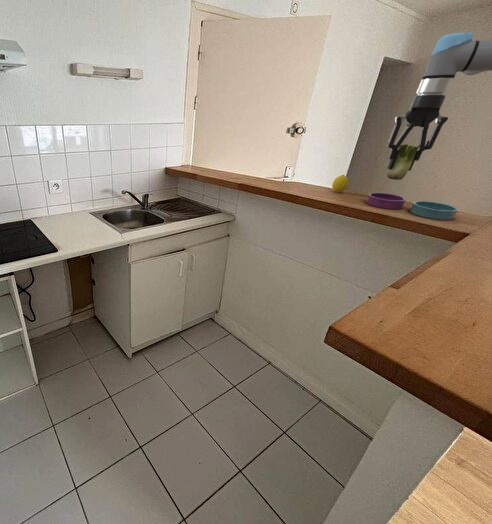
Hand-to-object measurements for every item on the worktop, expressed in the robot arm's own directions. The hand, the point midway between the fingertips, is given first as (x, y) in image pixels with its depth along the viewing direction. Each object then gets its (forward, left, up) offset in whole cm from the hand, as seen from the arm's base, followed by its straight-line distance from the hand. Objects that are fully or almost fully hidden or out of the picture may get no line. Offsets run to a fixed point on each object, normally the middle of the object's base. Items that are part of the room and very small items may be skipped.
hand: (398, 169), depth 102 cm
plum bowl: (0, 0, -14) cm, 14 cm away
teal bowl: (-12, +7, -14) cm, 19 cm away
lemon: (+14, -13, -14) cm, 24 cm away
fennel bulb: (0, 0, -4) cm, 4 cm away
